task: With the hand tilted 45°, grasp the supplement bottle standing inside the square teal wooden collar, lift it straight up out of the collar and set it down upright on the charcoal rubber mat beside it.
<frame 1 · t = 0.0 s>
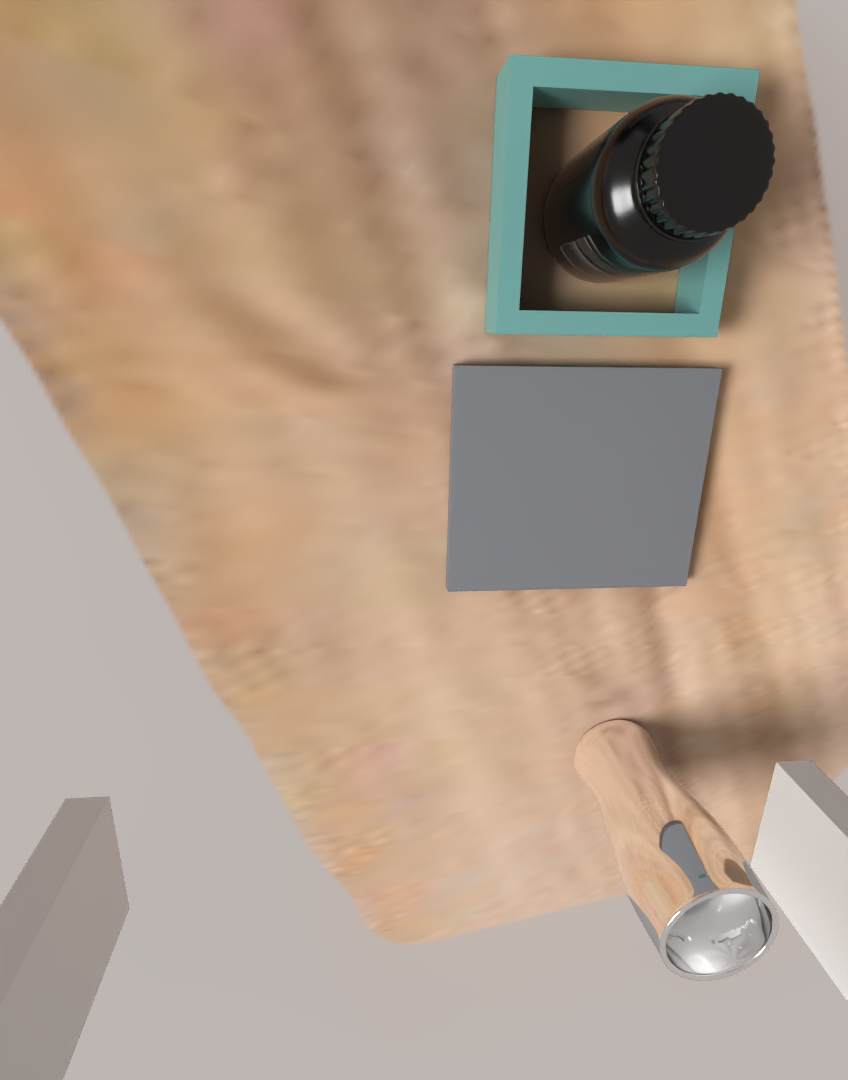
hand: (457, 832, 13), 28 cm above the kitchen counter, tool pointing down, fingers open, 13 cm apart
beer glass: (611, 751, 48), on the kitchen counter
teal collar: (600, 216, 35), on the kitchen counter
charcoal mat: (574, 480, 40), on the kitchen counter
supplement bottle: (599, 217, 35), resting in teal collar
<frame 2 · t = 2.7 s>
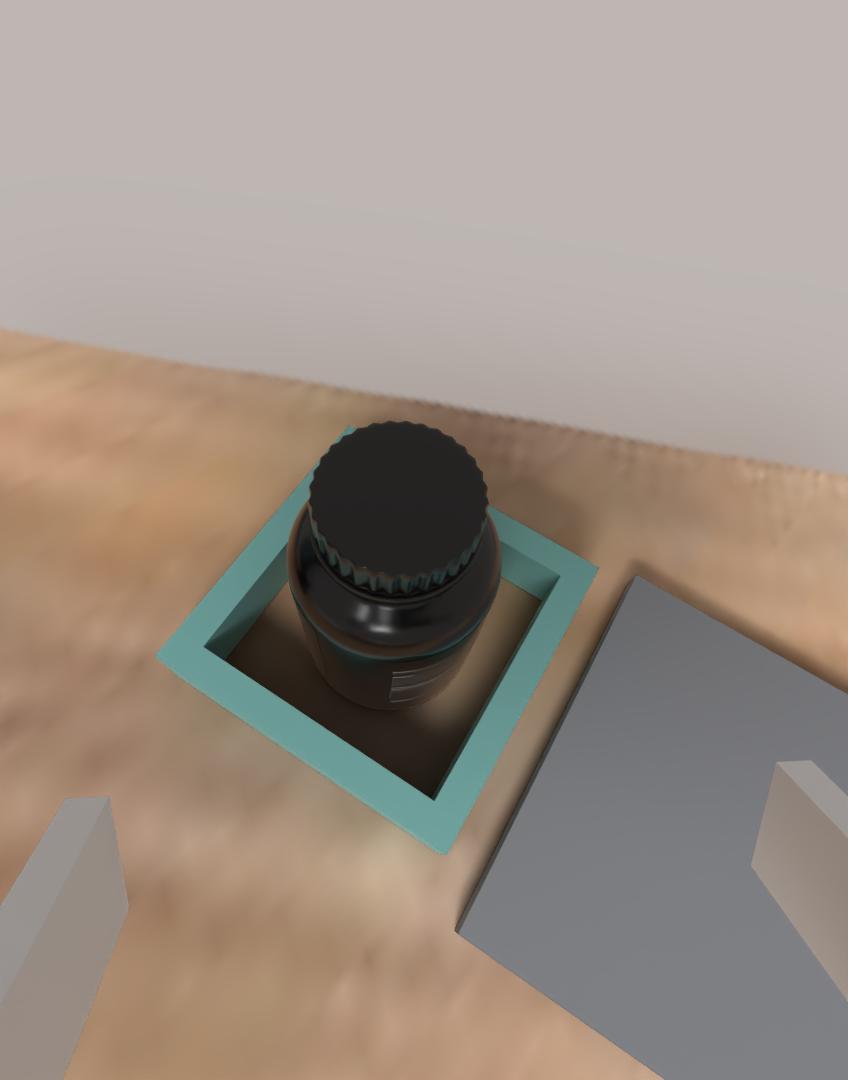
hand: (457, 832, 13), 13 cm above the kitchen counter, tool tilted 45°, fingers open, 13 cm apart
teal collar: (388, 632, 27), on the kitchen counter
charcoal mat: (709, 833, 25), on the kitchen counter
supplement bottle: (388, 633, 27), resting in teal collar
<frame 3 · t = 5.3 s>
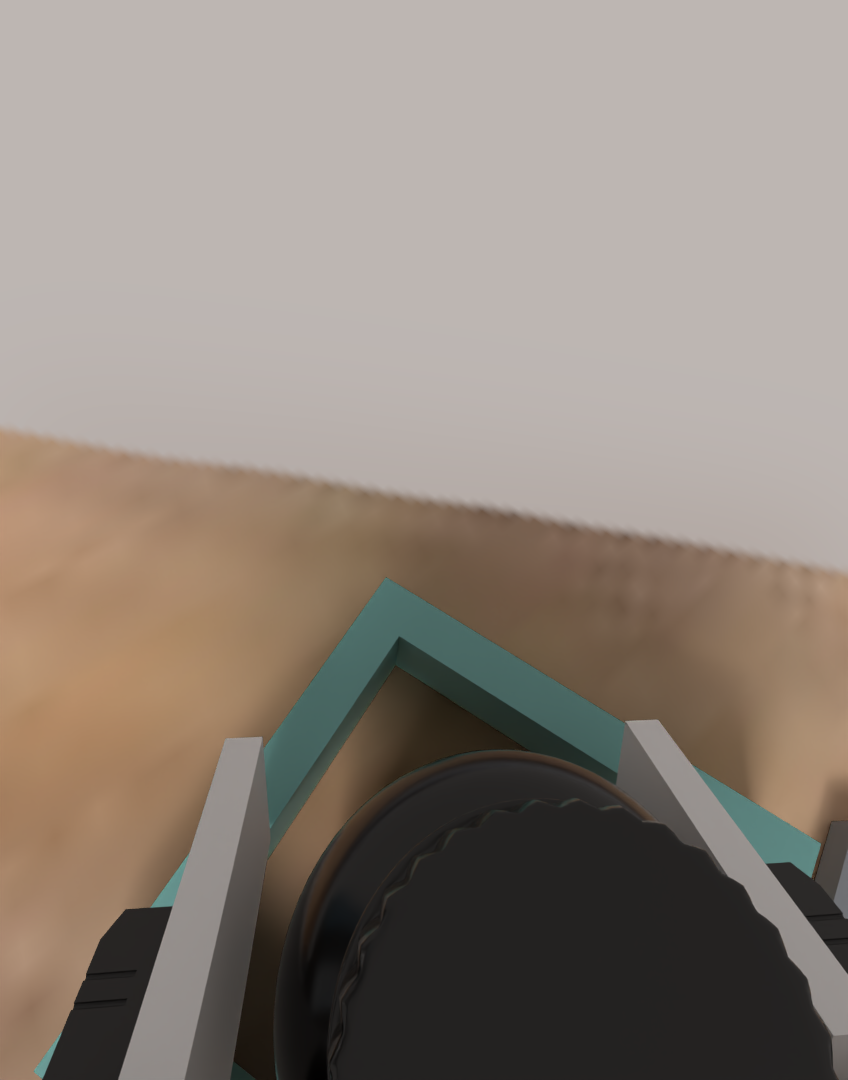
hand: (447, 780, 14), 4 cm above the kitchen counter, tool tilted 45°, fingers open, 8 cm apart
teal collar: (452, 928, 16), on the kitchen counter
supplement bottle: (451, 927, 17), resting in teal collar
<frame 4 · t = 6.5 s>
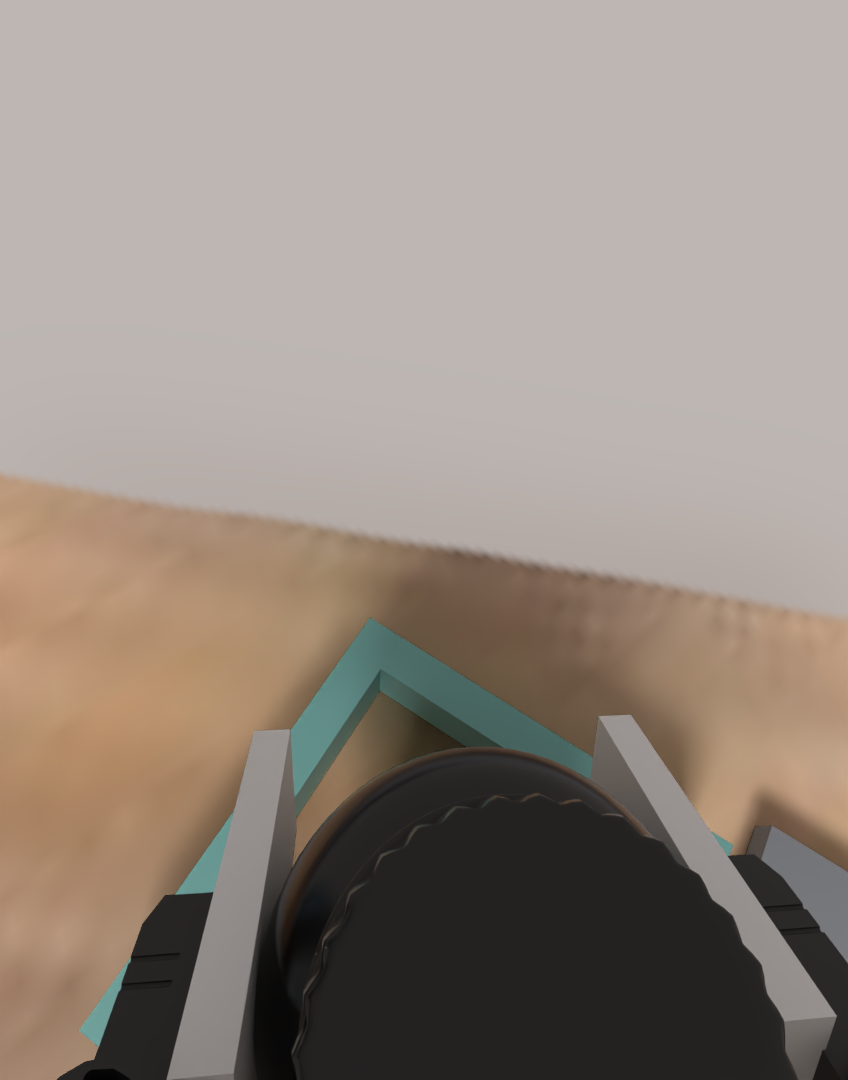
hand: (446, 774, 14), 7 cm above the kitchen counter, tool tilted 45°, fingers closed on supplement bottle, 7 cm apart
teal collar: (425, 918, 19), on the kitchen counter
supplement bottle: (441, 923, 17), point 3 cm above the kitchen counter, touching gripper
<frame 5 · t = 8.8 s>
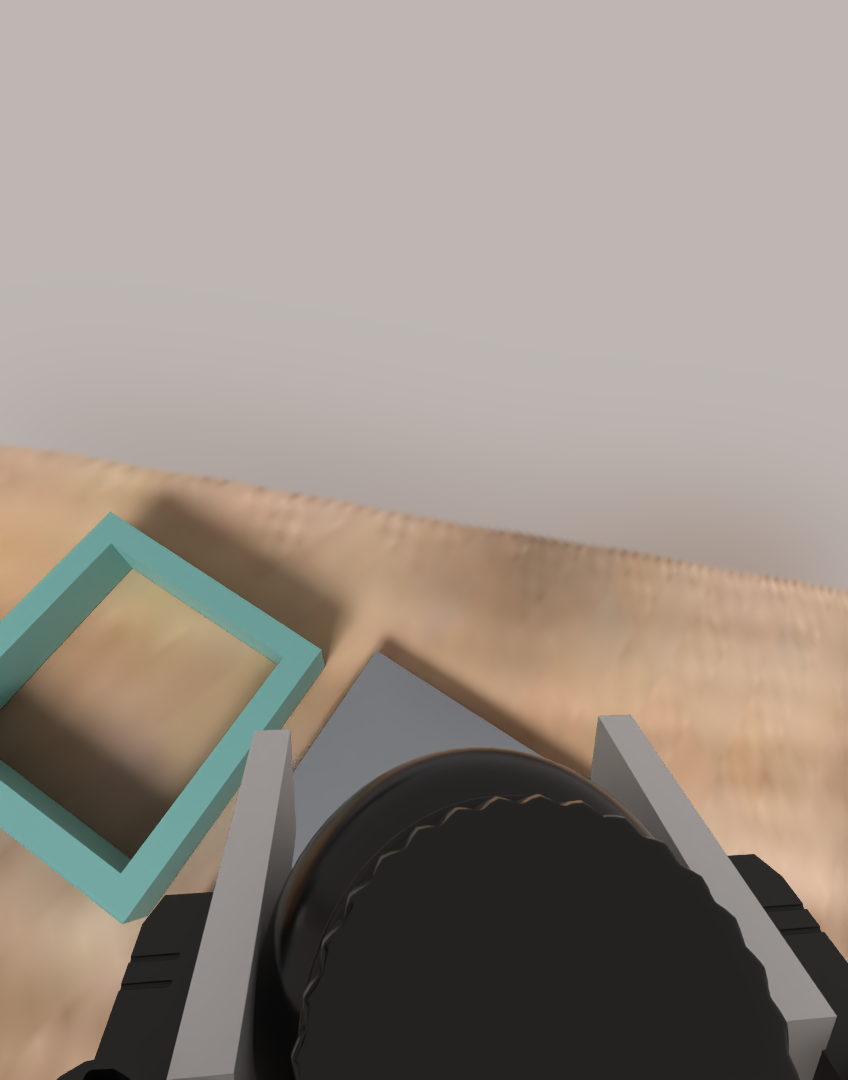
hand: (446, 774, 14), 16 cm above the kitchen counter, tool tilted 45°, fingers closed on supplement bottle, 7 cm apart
teal collar: (138, 704, 30), on the kitchen counter
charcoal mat: (408, 896, 27), on the kitchen counter
supplement bottle: (441, 924, 17), point 12 cm above the kitchen counter, touching gripper
when the fingers open (6 cm above the kitchen counter, at t = 11.6 s): supplement bottle drops 1 cm, resting on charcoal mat.
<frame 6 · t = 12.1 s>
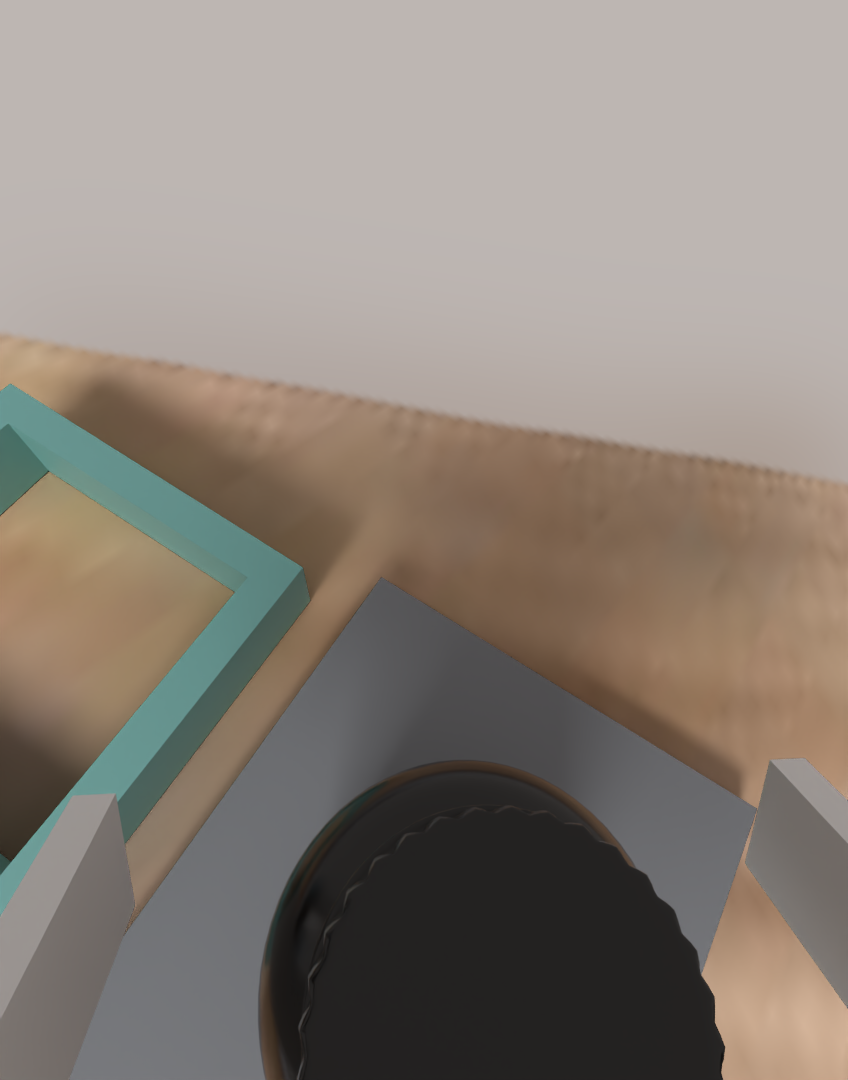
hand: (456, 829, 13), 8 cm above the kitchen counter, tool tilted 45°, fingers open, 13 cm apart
teal collar: (45, 650, 21), on the kitchen counter
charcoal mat: (429, 924, 18), on the kitchen counter
supplement bottle: (427, 922, 18), point 1 cm above the kitchen counter, touching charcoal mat
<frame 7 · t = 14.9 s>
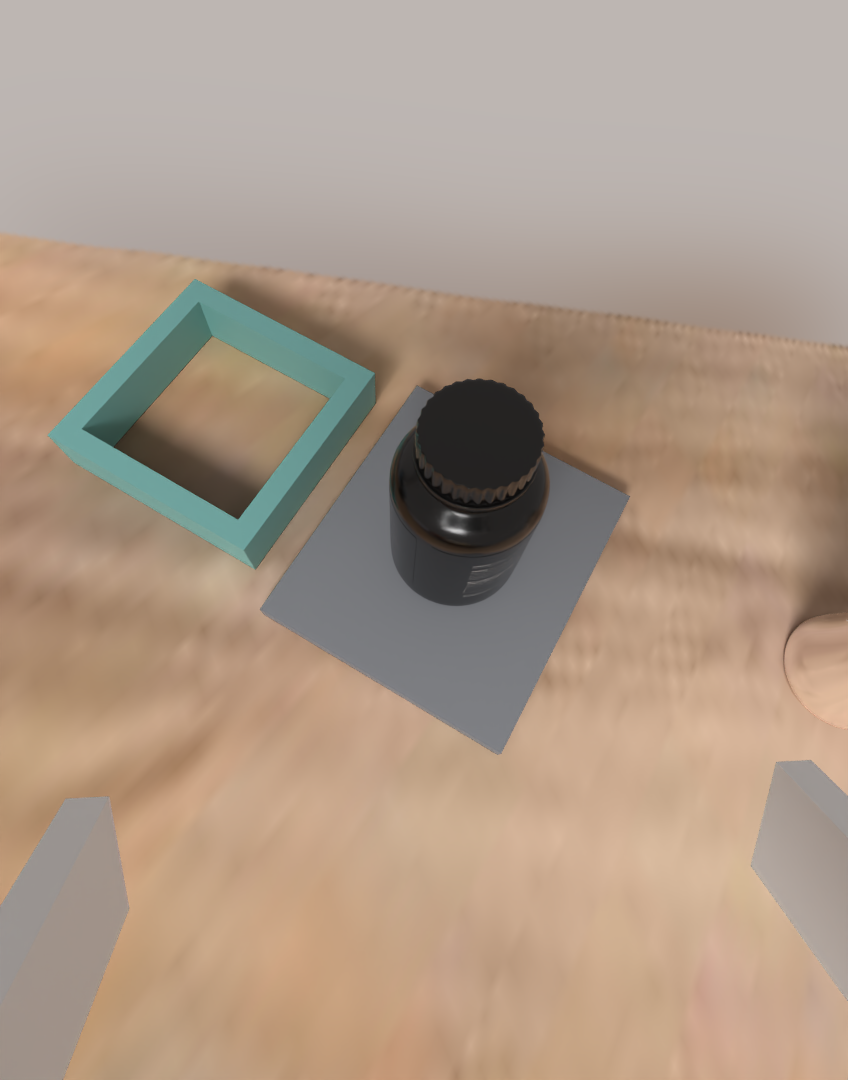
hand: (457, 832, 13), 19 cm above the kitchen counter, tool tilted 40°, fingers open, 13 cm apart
beer glass: (836, 672, 34), on the kitchen counter
teal collar: (229, 431, 37), on the kitchen counter
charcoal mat: (452, 556, 35), on the kitchen counter
supplement bottle: (451, 549, 34), point 1 cm above the kitchen counter, touching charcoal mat
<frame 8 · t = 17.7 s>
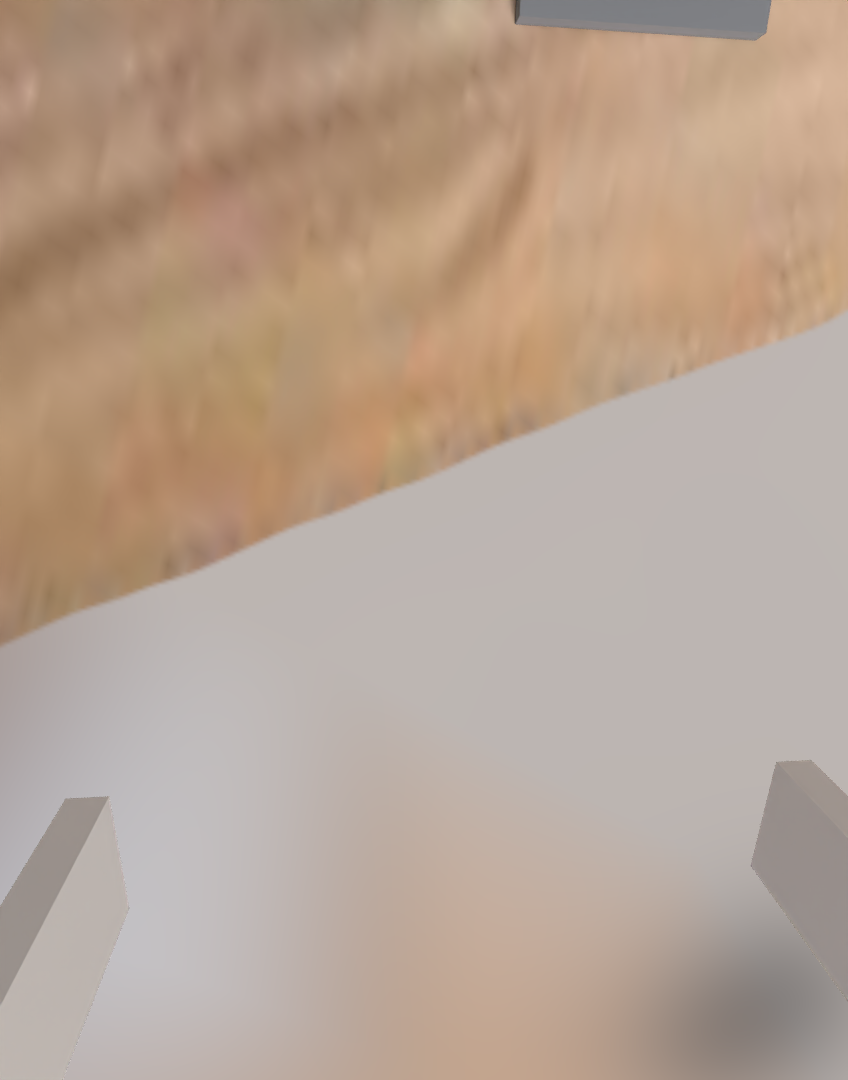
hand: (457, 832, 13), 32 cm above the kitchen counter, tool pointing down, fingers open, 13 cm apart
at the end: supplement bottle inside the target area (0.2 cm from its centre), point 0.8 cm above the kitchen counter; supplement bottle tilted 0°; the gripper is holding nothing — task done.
